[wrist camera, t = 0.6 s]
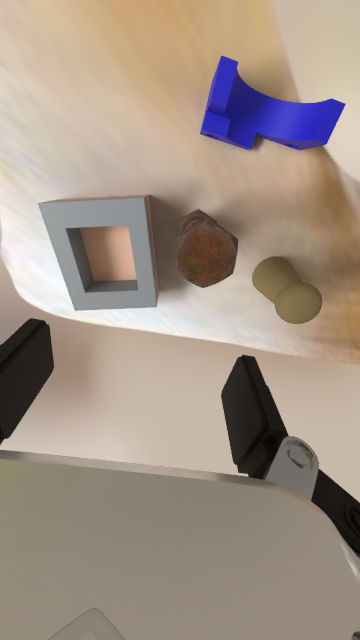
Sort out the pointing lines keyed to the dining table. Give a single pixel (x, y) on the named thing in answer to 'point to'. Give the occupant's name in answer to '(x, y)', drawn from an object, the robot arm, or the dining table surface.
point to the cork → (287, 290)
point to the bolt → (204, 250)
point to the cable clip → (263, 114)
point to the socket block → (104, 250)
